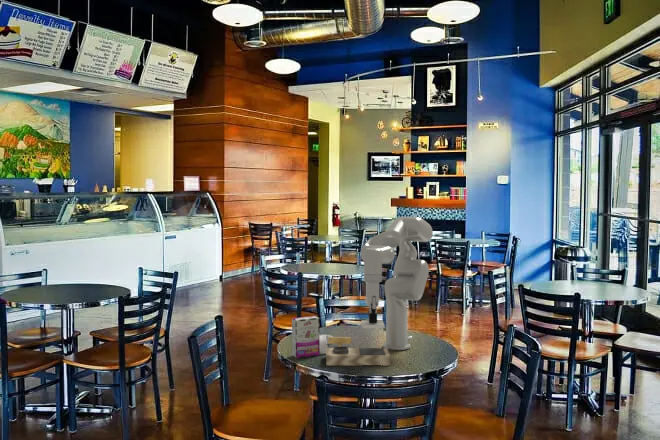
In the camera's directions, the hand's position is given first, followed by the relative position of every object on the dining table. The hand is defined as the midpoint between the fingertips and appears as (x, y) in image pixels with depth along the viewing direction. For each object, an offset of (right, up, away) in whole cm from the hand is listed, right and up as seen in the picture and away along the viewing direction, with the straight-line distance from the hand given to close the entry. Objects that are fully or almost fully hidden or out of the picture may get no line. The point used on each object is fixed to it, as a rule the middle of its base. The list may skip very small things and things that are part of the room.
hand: (372, 321), depth 246 cm
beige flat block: (-6, -17, 0) cm, 18 cm away
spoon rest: (-22, -16, +22) cm, 35 cm away
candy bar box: (-28, -16, +9) cm, 34 cm away
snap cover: (0, -2, 0) cm, 2 cm away
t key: (-14, -16, +16) cm, 26 cm away
